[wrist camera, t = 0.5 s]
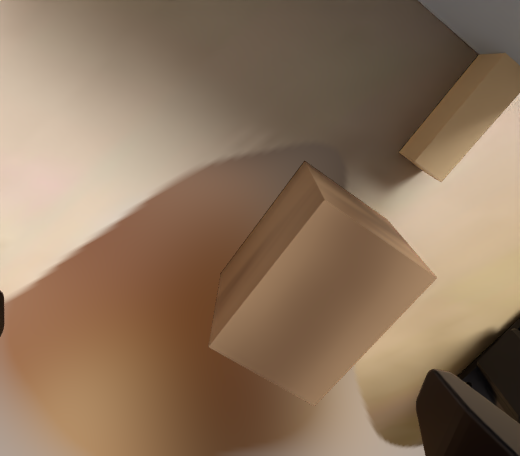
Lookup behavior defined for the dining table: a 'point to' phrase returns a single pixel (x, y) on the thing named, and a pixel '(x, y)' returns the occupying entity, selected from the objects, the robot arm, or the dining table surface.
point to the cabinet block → (314, 287)
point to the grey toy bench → (470, 82)
